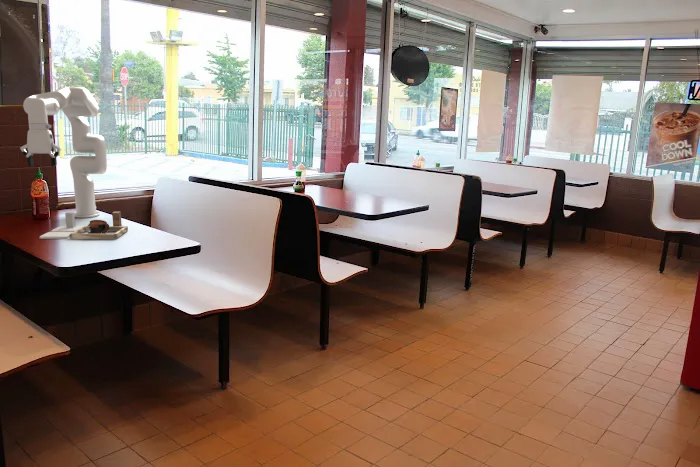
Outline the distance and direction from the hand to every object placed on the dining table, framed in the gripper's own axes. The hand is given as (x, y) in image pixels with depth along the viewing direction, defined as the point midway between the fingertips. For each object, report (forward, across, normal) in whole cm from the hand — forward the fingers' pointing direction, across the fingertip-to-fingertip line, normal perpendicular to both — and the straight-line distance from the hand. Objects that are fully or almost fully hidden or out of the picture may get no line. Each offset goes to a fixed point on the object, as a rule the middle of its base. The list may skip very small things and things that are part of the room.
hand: (42, 166), depth 264 cm
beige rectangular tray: (+31, -23, -3) cm, 38 cm away
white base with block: (+31, -5, -3) cm, 32 cm away
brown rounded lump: (+32, -22, 0) cm, 39 cm away
